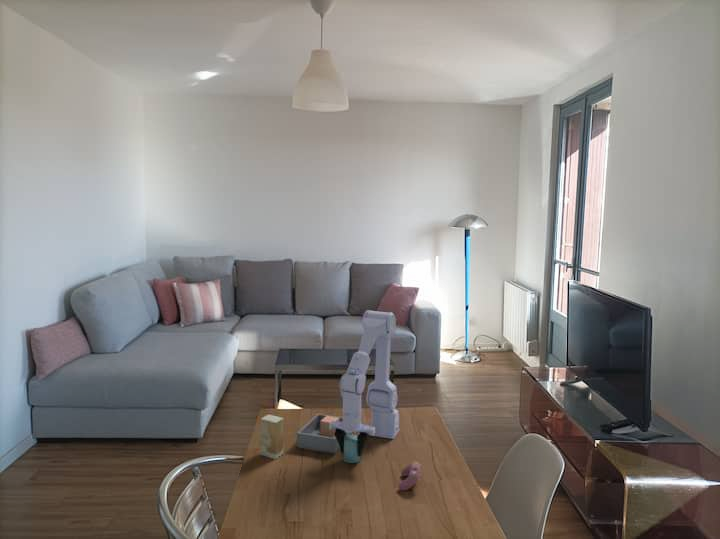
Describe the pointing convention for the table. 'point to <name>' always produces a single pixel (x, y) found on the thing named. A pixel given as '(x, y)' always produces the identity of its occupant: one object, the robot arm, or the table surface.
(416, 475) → the pink curved lump
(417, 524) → the table surface
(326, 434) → the terracotta cube
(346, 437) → the teal cylinder
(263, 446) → the skincare box
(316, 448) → the tote
